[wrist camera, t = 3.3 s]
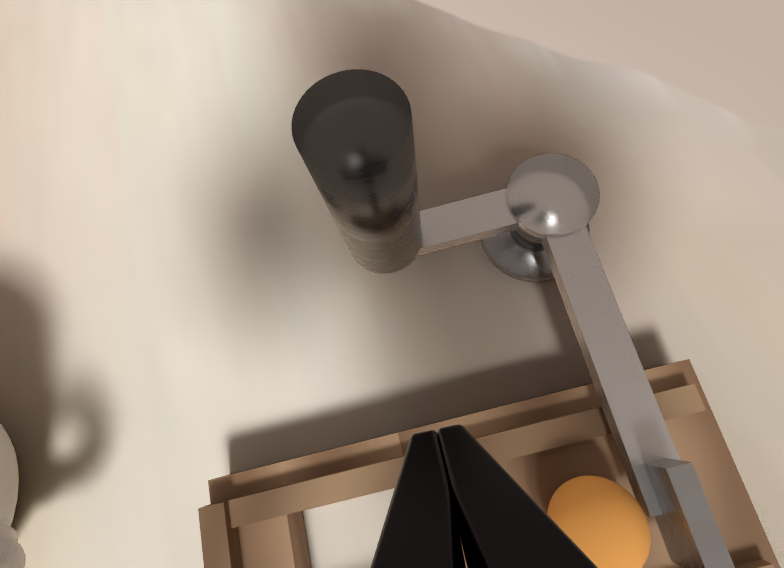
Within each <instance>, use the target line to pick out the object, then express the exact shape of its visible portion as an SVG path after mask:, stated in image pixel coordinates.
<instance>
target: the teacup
mask: <svg viewBox="0 0 784 568" xmlns="http://www.w3.org/2000/svg"><path fill="white" fill-rule="evenodd" d="M18 486H19V475H18V464H17V458H16V453H15V450H14V447H13V445H12V442H11V440H10V438H9V436H8V434H7V433H6V431H5V429H4V428H3V426H2V425H1V424H0V568H24V567H25V553H24V550H23V549H22V547H21V545H20V544H19V543H18V542H17V540H18V534H17V532H16V531H15V529H13V528H12V527H10V526H11V524H12V521H13V517H14V512H15V508H16V503H17V499H18Z"/></svg>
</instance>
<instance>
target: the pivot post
mask: <svg viewBox="0 0 784 568" xmlns="http://www.w3.org/2000/svg"><path fill="white" fill-rule="evenodd" d="M586 228H587V231H588V233H589V224H588V223H587V225H586ZM481 241H482V245H483V248H484V250H485V252H486V254H487V256H488V257H489V259H490V260H491V261H492V263H493V264H494V265H495V266H496V267H497V268H499V269H500V270H501V271H502V272H504V273H506V274H507V275H509V276H511V277H514V278H516V279H520V280H524V281H532V282H539V281H547V280H551V279H554V275H553V273H552V270H551V267H550V265H549V262H548V259H547V256H546V254H545V251H544V248H543V245H542V243H541V242H537V241H533V240H531V239H528V238H526V237H525V236H523V235H522V234H520V233H519V232H518V231H517V230H515V231H511V232H507V233H503V234H499V235H496V236H492V237H488V238H484V239H481Z"/></svg>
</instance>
